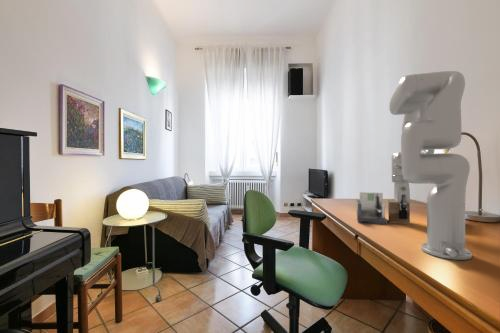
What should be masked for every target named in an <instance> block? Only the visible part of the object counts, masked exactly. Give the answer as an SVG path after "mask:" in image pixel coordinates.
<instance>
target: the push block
mask: <svg viewBox="0 0 500 333" xmlns="http://www.w3.org/2000/svg"><path fill="white" fill-rule="evenodd" d="M406 202H407V201H406ZM400 203H403V202H400ZM387 204H388V210H387V212H388V222H389V223H390V224H392V223H393V224H402V225H403V224H404V225H410V224H411V212H410V211H411V210H410V208H411V207H410V206H411V205H410V204H411V203H410V204H408V203H407V219H399V210H400V208H399V204H398V203H397V202H396V201H395V199H394V200H389V199H388V202H387ZM401 206H402V205H401Z"/></svg>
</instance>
